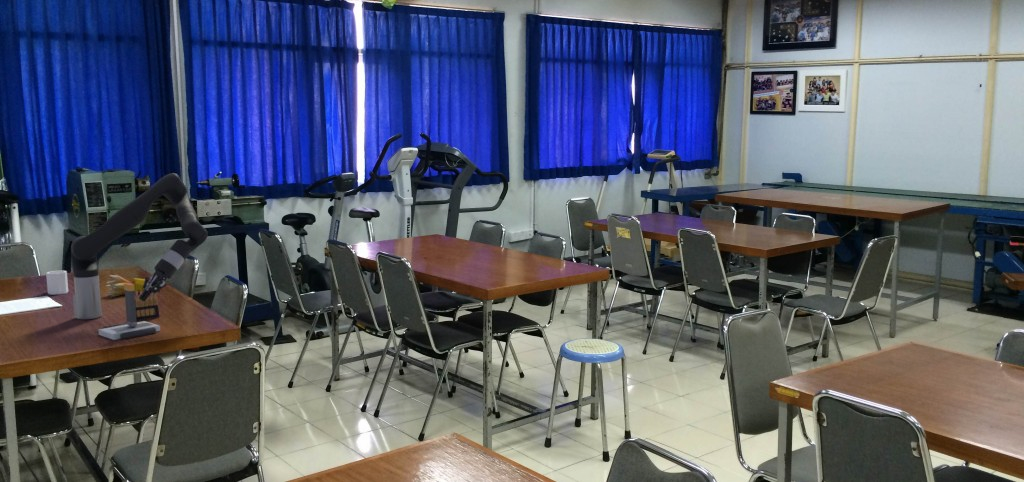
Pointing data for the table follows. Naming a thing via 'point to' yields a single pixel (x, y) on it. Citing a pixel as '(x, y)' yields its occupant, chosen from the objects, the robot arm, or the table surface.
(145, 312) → the ammunition clip
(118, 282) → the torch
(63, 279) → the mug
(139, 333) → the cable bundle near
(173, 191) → the robot arm
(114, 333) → the grey flat slab
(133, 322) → the lever
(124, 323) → the grey bar
